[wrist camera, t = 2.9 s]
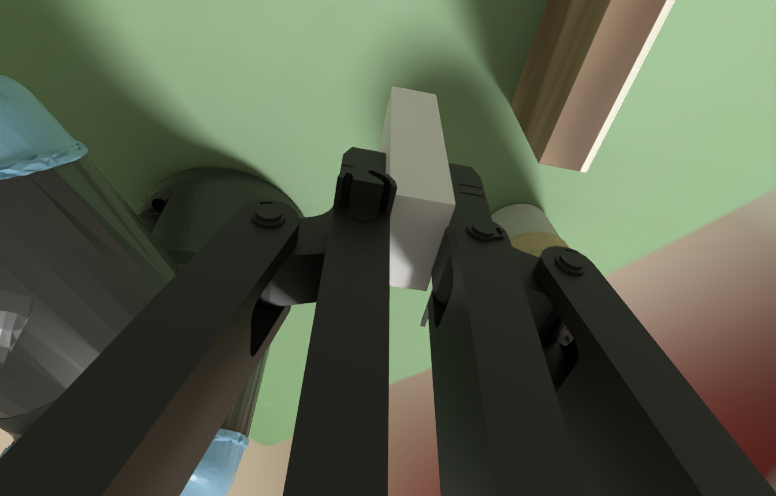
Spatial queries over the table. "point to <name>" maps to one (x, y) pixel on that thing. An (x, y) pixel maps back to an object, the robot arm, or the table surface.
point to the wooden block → (582, 74)
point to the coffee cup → (529, 233)
